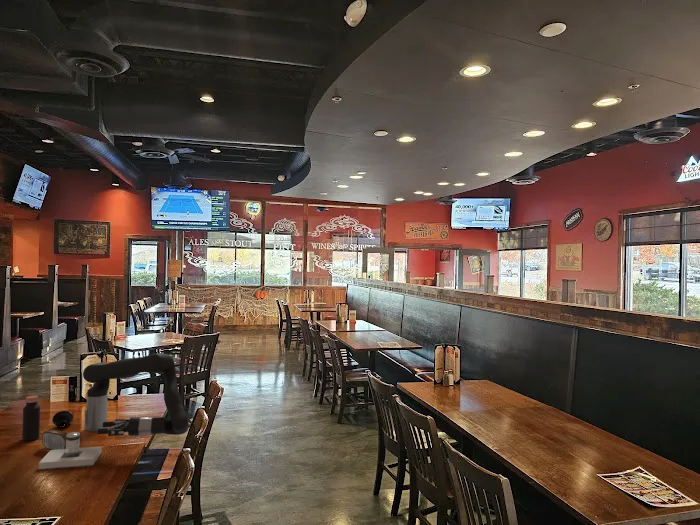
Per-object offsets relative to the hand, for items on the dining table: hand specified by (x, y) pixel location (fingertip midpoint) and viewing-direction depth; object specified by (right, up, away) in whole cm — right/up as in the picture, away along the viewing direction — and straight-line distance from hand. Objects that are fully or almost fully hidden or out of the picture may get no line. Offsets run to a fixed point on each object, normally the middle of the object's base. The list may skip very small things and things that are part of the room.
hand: (100, 427), depth 206 cm
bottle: (-44, -13, +21) cm, 51 cm away
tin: (-25, -13, +9) cm, 30 cm away
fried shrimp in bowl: (-41, -13, +43) cm, 61 cm away
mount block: (-11, -13, -3) cm, 17 cm away
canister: (-10, -12, -3) cm, 17 cm away
